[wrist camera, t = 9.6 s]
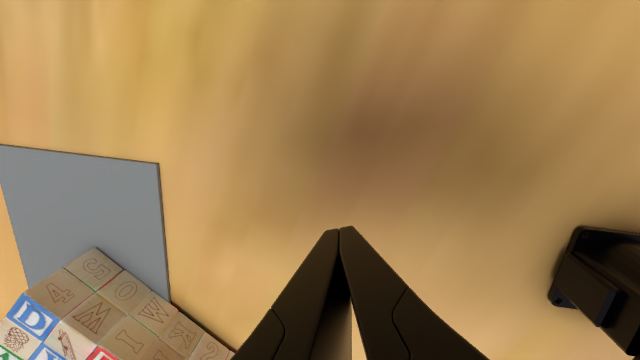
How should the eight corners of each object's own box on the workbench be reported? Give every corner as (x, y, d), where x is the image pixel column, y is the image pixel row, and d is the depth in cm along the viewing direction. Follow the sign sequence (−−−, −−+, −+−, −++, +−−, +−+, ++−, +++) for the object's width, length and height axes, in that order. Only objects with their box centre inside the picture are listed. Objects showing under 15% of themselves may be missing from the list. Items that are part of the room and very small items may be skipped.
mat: (158, 163, 23) (156, 164, 23) (178, 387, 31) (176, 390, 30) (-6, 143, 24) (-11, 144, 24) (52, 364, 32) (50, 367, 31)
